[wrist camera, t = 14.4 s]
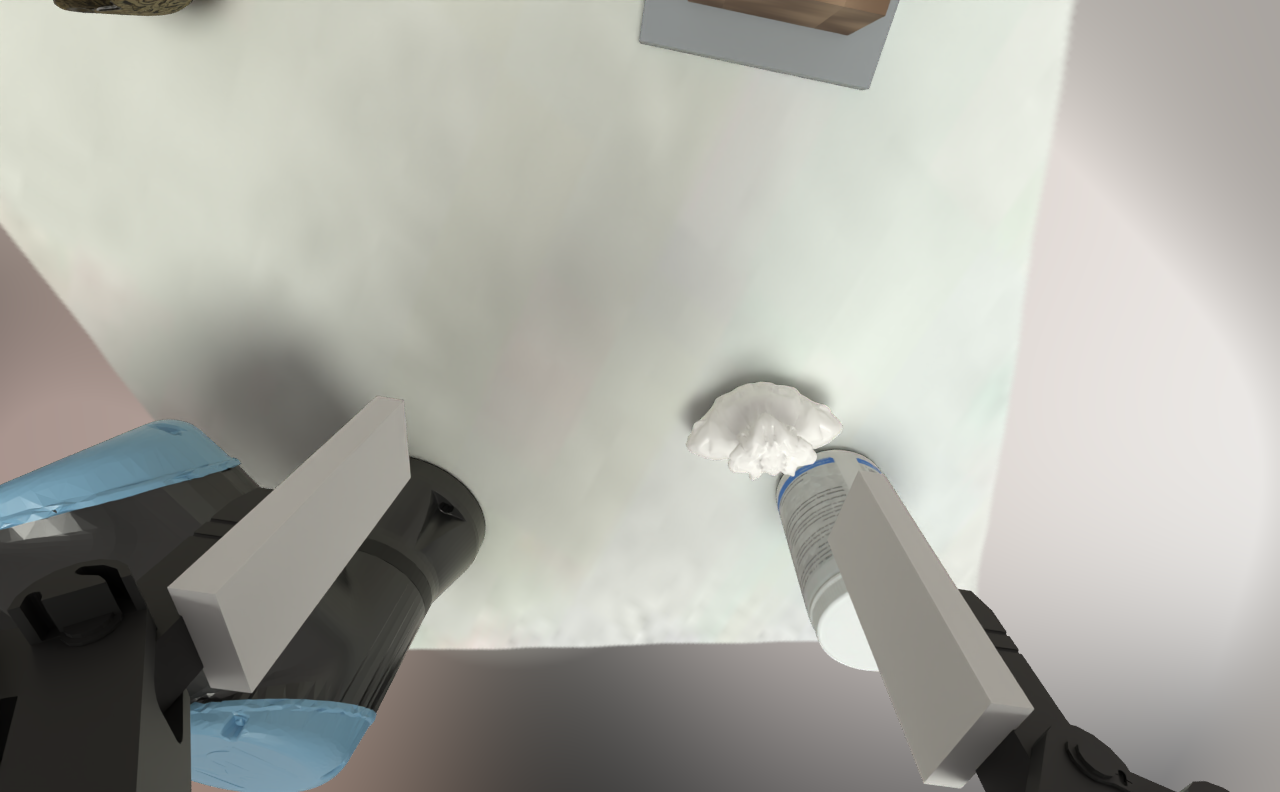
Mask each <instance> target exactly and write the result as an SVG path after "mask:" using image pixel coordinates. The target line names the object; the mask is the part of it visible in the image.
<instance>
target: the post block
mask: <svg viewBox="0 0 1280 792" xmlns="http://www.w3.org/2000/svg"><path fill="white" fill-rule="evenodd" d="M898 3H899V0H891V1H890V4H889V7H888V10H887V13H886V16H884V17H882V18H880V19H878V20H876V21H874V22H873V23H871V24H869V25H867V26H865V27H863V28H861V29H859V30H857V31H855V32H854V33H852V34H850V35H848V36H847V35H842V34H838V33H833V32H828V31H824V30H819V29H814V28H810V27H805V26H800V25H796V24H791V23H786V22H782V21H777V20H772V19H768V18H763V17H758V16H754V15H749V14H744V13H740V12H735V11H730V10H726V9H721V8H716V7H712V6H707V5H702V4H698V3H693V2H688V0H645V5H644V12H643V19H642V25H641V32H640V39H639V41H640V43H641V44H646V45H651V46H655V47H660V48H665V49H670V50H674V51H679V52H684V53H689V54H693V55H698V56H703V57H708V58H712V59H717V60H722V61H727V62H731V63H736V64H741V65H746V66H750V67H755V68H760V69H765V70H769V71H774V72H779V73H784V74H788V75H793V76H798V77H803V78H807V79H812V80H817V81H822V82H826V83H831V84H836V85H841V86H845V87H850V88H855V89H860V90H866V89H869V87H870V84H871V81H872V78H873V75H874V73H875V70H876V67H877V64H878V61H879V58H880V55H881V52H882V49H883V47H884V44H885V41H886V38H887V35H888V32H889V29H890V26H891V23H892V21H893V18H894V15H895V12H896V9H897V6H898Z"/></svg>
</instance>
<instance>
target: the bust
mask: <svg viewBox="0 0 1280 792" xmlns="http://www.w3.org/2000/svg"><path fill="white" fill-rule="evenodd" d="M842 428H843V425H842V423H841V422H840V421H839V419H838V418H837V417H835V416H834V415H833V414H832V411H831V409H830V408H829V407H828V406H826V405H824V404H819V403H816V402H814V401H812V400H810V399H809V398H807V397H805V396H803V395H801V394H800V393H799V391H798V390H797V389H796V388H794V387H791V386H785V385H776V384H773V383H771V382H757V383H748V384H744V385H742V386H739V387H737V388H735V389H734V390H733V391H731V392H728V393H726V394H724V395H722V396H720V397H718V398H716V400H715V401H714V404H713V405H712V407H711V409H710V410H709V411H708V412H707V413H706V414H705V415H704V416H703V417H702V418H701V419H700V420H699V421H697V422H696V423H695V424H694V425H693V427H692V432H691V434H690V435H689V436H688V439H687V442H686V447H687V449H688V450H689V451H690V452H691V453H694V454H696V455H698V456H700V457H703V458H706V459H710V460H716V461H719V460H726V459H729V462H728V467H729V469H730V470H731V471H732V472H733V473H749V478H750V480H751V481H754V480H755V479H758V477H760V475H761V474H763V473H764V472H765V473H768V474H770V475H772V476H774V475H777V474H778V473H779V472H782V473H783V474H785V475H787V474H788V475H791V476H792V477H793V476H795V471H796V468H797V467H799V466H805V465H810V464H813V463H814V462H815V461H816V459H817V454H816V452H815V451H814V450H813V449H816V448H819V447H822V446H824V445H826V444H828V443H829V442H831V441H832V440H833V439H835V438H836V437H837V436H838V435H840V433H841V432H842Z"/></svg>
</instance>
